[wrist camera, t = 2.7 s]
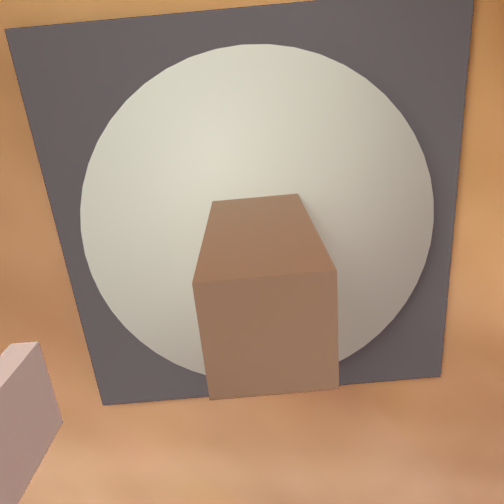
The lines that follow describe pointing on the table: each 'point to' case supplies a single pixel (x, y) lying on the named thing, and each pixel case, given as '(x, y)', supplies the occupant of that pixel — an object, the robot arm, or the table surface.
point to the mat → (225, 35)
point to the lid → (257, 217)
